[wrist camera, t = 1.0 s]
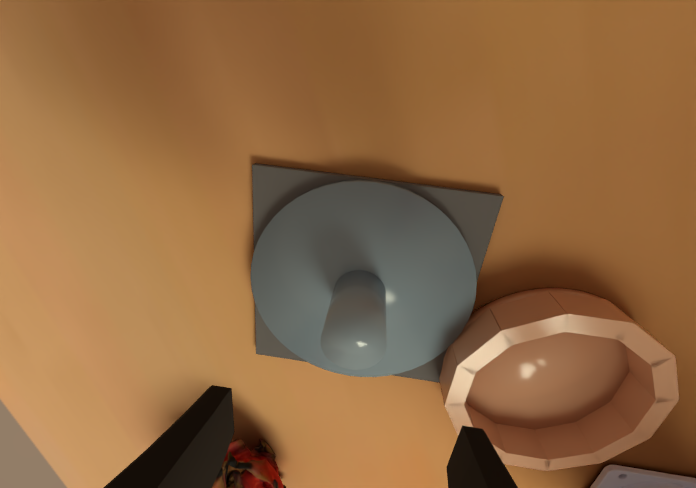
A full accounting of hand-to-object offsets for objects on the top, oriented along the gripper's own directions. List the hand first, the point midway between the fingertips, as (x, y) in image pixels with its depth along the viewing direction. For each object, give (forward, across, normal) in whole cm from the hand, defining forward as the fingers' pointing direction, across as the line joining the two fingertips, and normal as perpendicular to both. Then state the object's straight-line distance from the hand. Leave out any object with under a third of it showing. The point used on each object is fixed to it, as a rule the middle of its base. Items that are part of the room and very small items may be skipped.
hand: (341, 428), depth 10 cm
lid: (+8, 0, 0) cm, 8 cm away
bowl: (+9, -11, +4) cm, 15 cm away
